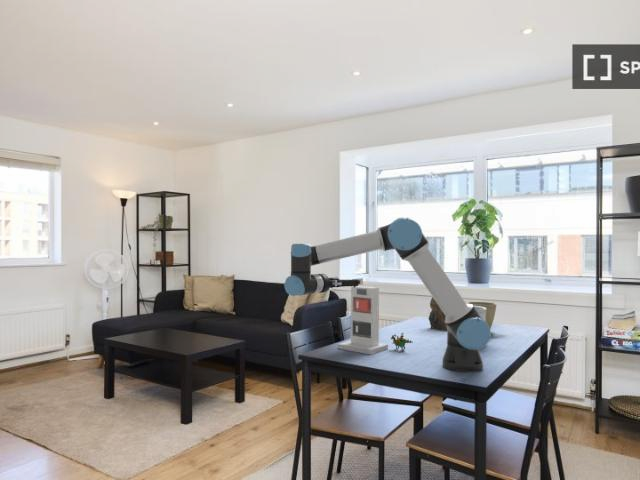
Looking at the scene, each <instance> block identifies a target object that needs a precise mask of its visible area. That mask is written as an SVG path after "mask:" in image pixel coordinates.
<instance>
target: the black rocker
mask: <svg viewBox="0 0 640 480" xmlns="http://www.w3.org/2000/svg"><path fill="white" fill-rule="evenodd" d="M353 334H357V335H367V336H370V335H371V324H363V323H353Z"/></svg>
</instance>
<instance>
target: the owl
mask: <svg viewBox="0 0 640 480" xmlns="http://www.w3.org/2000/svg"><path fill="white" fill-rule="evenodd" d="M429 307H430V309H431V311H430V312H429V316H428V321H429V324H430V328H431V329H436V330H440V331H446V332H447V324H446V323H445V318H446V316H445V314H444V313H443V311H442V310H441V308H440V307H439V305H438V304H437V302H436V301H435V300H434V298H433V297H431V299H430V303H429Z"/></svg>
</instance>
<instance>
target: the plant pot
mask: <svg viewBox="0 0 640 480" xmlns="http://www.w3.org/2000/svg"><path fill="white" fill-rule="evenodd" d="M467 304H471V305H473V306H481V307H485V308H486V322H487V323H488V325H489V327H490V330H491V328H492V326H493V323H494V320H495V314H496V309H497V303H493V302H485V301H468V302H467Z"/></svg>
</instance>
